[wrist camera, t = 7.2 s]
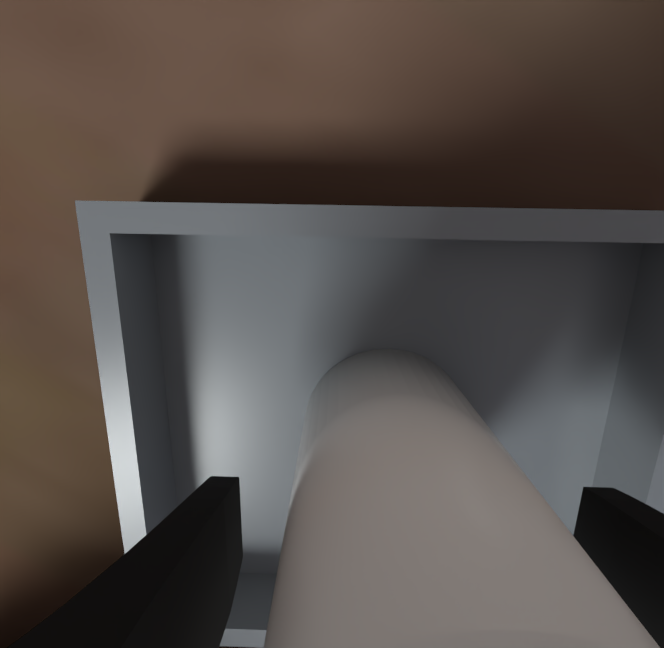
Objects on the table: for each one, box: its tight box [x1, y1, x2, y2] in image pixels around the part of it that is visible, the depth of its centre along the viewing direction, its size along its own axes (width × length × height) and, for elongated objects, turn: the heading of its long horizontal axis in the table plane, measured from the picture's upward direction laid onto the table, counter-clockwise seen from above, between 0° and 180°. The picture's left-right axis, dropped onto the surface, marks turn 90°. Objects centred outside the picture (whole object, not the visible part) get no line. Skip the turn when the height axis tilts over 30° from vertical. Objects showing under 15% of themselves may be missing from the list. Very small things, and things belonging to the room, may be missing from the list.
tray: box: [75, 201, 664, 648], centre depth 11 cm, size 15×13×2 cm
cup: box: [264, 349, 660, 648], centre depth 8 cm, size 5×5×8 cm
